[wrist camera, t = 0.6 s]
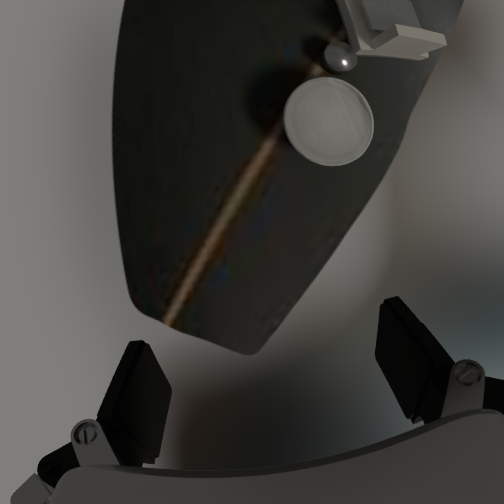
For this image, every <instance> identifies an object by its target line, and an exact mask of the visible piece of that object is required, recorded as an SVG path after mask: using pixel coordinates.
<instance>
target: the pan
mask: <svg viewBox="0 0 504 504" xmlns="http://www.w3.org/2000/svg"><path fill="white" fill-rule="evenodd" d="M360 3H361V6H362V8H363V11H364V14H365V17H366V20H367V22H368V25H369V29H370V31H375V32H384V31H385V30H387V29H388V28H390V27H391V26H393V25H394V24H399V25H404V26H409V27H417V28H421V27H420V24H419V21H418V18H417V16H416V13H415V11H414V8H413V6H412V3H411V1H408V0H360Z"/></svg>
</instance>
